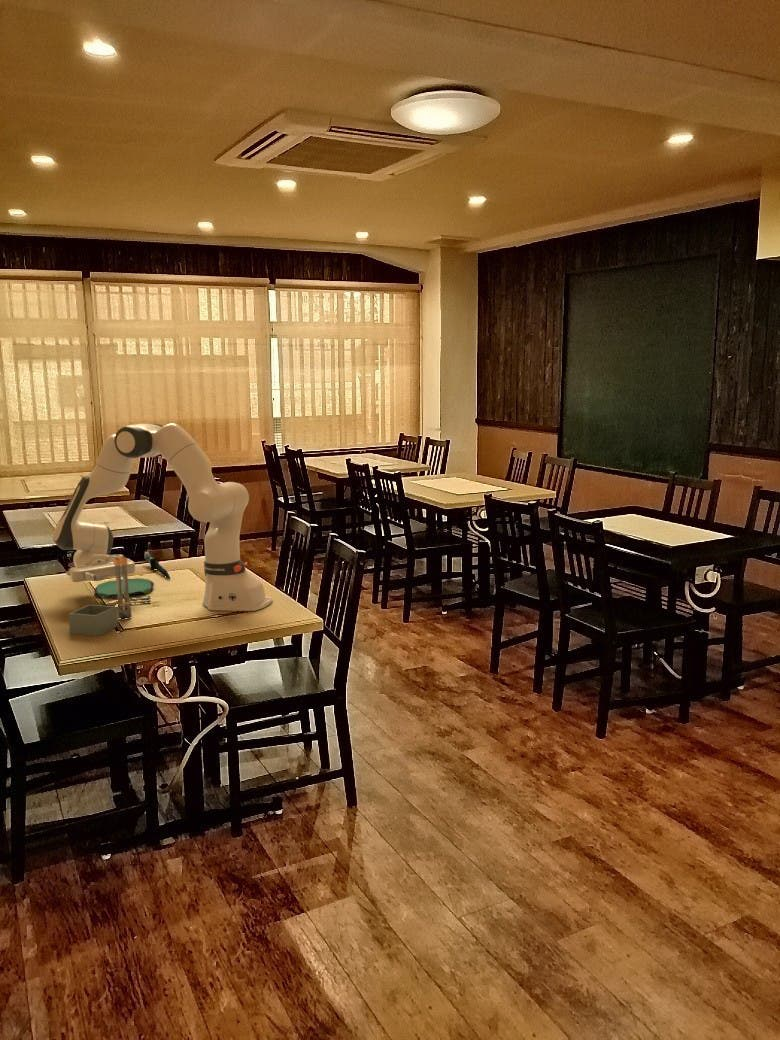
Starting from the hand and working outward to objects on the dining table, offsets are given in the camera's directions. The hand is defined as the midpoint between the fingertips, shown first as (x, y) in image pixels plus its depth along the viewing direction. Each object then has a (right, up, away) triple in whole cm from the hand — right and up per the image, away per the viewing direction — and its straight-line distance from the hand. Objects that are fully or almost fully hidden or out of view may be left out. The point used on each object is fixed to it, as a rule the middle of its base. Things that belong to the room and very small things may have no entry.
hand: (109, 575), depth 254 cm
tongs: (+7, -13, -8) cm, 16 cm away
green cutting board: (-1, -8, +19) cm, 21 cm away
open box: (+2, -15, -18) cm, 24 cm away
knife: (+1, -2, +49) cm, 49 cm away
